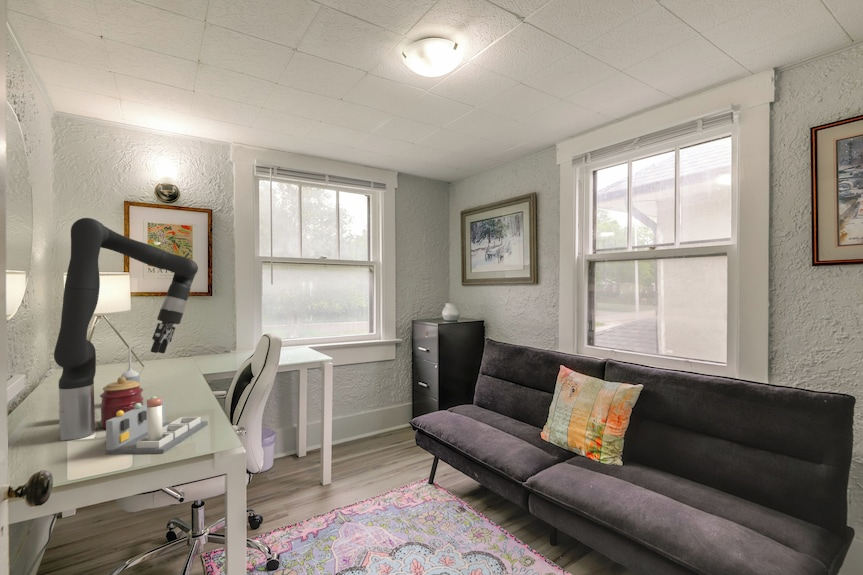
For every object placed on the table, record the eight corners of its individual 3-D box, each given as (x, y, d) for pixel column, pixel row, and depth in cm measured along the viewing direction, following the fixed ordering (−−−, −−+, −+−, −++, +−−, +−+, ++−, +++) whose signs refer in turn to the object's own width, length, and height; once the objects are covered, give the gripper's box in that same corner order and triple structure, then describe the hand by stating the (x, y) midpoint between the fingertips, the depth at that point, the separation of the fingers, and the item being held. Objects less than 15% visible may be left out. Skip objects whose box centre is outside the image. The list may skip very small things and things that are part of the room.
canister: (120, 431, 146) (119, 381, 146) (91, 428, 149) (89, 380, 149) (152, 418, 159) (151, 373, 159) (124, 417, 162) (123, 372, 161)
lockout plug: (149, 446, 129) (148, 401, 129) (146, 443, 131) (145, 399, 132) (164, 443, 131) (163, 399, 132) (161, 440, 134) (160, 397, 134)
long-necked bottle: (131, 406, 175) (129, 348, 174) (114, 406, 176) (112, 348, 176) (147, 401, 183) (145, 345, 183) (130, 400, 184) (129, 345, 184)
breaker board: (163, 453, 127) (162, 414, 127) (105, 453, 127) (104, 415, 127) (207, 424, 152) (206, 392, 152) (158, 425, 152) (158, 392, 152)
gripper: (166, 310, 161) (152, 351, 157) (155, 305, 147) (139, 350, 144) (187, 314, 163) (173, 355, 159) (178, 310, 149) (163, 354, 146)
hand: (157, 352), depth 151 cm, fingers open, 8 cm apart
